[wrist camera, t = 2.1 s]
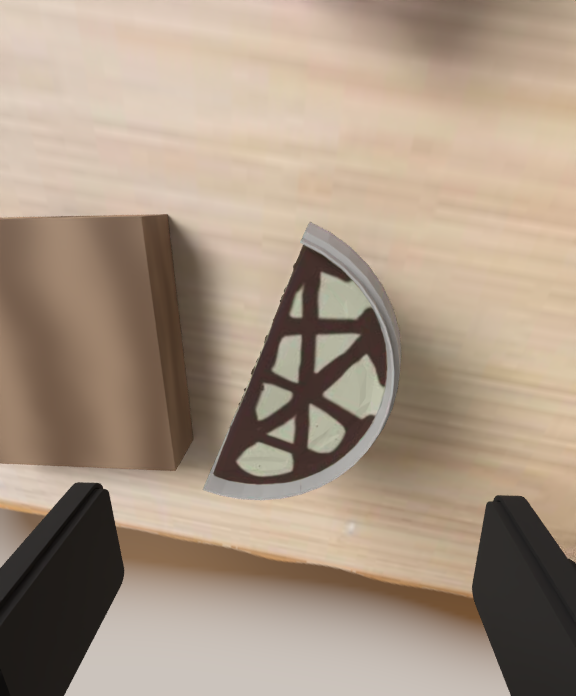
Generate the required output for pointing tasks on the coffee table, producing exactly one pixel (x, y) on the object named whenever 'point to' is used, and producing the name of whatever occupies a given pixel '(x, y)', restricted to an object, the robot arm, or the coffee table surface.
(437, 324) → the coffee table surface
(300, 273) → the food container
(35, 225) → the walnut block
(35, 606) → the robot arm
